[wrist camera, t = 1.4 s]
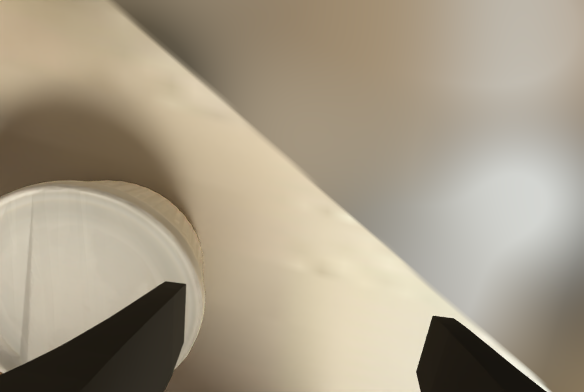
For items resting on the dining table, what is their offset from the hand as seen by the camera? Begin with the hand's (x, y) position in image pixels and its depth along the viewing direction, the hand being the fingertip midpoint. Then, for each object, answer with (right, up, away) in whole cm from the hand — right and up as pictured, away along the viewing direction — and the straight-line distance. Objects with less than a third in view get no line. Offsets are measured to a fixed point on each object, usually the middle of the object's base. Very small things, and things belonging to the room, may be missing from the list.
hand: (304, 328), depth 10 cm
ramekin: (-11, 0, +11) cm, 15 cm away
